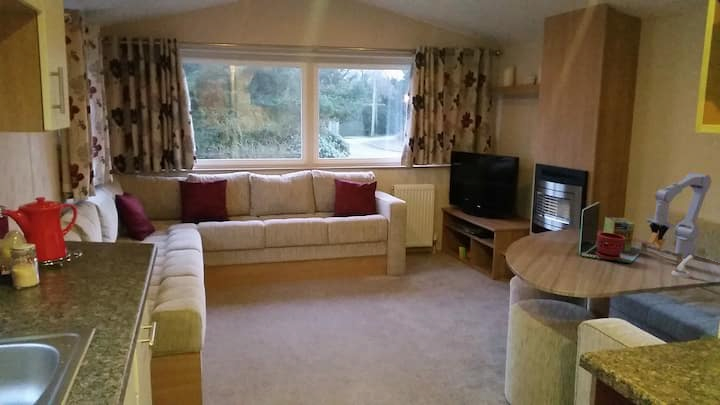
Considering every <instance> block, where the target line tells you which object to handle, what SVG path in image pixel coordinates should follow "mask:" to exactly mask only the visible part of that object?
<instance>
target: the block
mask: <svg viewBox="0 0 720 405" xmlns="http://www.w3.org/2000/svg"><path fill="white" fill-rule="evenodd" d="M658 235H659V232H658V233H654V232H653V233H652V232H651V235H650V237H649V239H648V241H647V244H649V245H650V244H651V245H654V247H656V248H658V249H663V246H664V243H665V242H666V238H665V237H663V238H662V240H658Z"/></svg>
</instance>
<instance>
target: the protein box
mask: <svg viewBox="0 0 720 405" xmlns="http://www.w3.org/2000/svg"><path fill="white" fill-rule="evenodd" d="M634 230H635V223H633V222H632V221H630V220H629V219H628V218H624V217H613V216H611V217H610V216H605V217H604V226H603V232H606V233H613V234H618V235H621V236H624V237H625V238H626V241H625V245H624V248H623V250H622V252H627V251H630V252H631V249H632V243H633V235H634V232H635V231H634ZM606 244H607V243H606ZM617 246H618V245H617Z"/></svg>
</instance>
